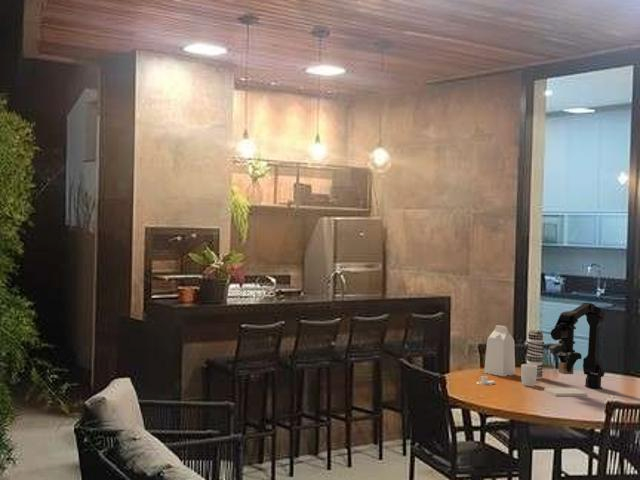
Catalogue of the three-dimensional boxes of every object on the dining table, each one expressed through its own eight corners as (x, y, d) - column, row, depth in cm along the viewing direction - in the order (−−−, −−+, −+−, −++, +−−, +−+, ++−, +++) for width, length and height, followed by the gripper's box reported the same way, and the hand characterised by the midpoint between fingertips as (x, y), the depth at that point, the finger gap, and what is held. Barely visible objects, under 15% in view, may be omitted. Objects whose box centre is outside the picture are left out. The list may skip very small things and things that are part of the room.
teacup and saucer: (495, 384, 400) (495, 376, 400) (492, 386, 393) (492, 378, 392) (478, 382, 403) (478, 374, 403) (474, 384, 396) (474, 376, 396)
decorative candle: (540, 379, 414) (542, 332, 413) (523, 377, 418) (524, 330, 418) (545, 377, 421) (547, 330, 421) (528, 375, 426) (529, 329, 426)
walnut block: (568, 372, 383) (568, 361, 383) (573, 374, 378) (573, 363, 378) (558, 372, 382) (559, 361, 382) (563, 374, 377) (563, 363, 377)
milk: (515, 374, 428) (516, 326, 428) (503, 376, 420) (504, 327, 420) (496, 370, 437) (497, 324, 436) (484, 373, 429) (485, 325, 428)
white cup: (537, 387, 394) (537, 367, 393) (520, 385, 395) (521, 366, 395) (536, 384, 401) (536, 364, 401) (520, 383, 403) (520, 363, 403)
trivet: (575, 390, 387) (575, 388, 387) (586, 395, 375) (587, 393, 375) (544, 390, 385) (544, 388, 385) (555, 395, 373) (555, 393, 373)
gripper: (543, 335, 388) (542, 367, 388) (560, 341, 369) (559, 374, 370) (564, 336, 389) (563, 367, 390) (582, 341, 371) (581, 374, 371)
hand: (566, 371), depth 380 cm, fingers closed on walnut block, 5 cm apart
